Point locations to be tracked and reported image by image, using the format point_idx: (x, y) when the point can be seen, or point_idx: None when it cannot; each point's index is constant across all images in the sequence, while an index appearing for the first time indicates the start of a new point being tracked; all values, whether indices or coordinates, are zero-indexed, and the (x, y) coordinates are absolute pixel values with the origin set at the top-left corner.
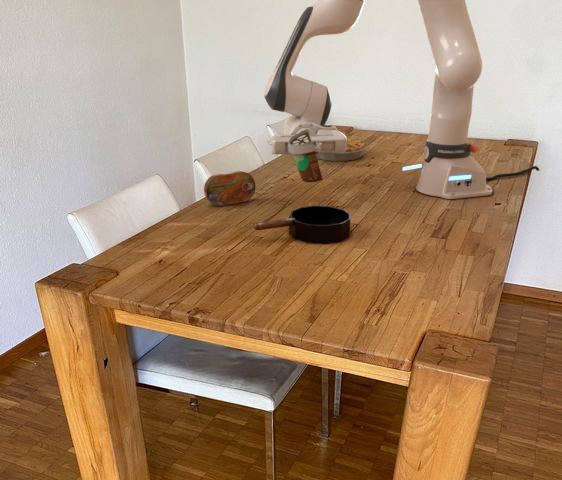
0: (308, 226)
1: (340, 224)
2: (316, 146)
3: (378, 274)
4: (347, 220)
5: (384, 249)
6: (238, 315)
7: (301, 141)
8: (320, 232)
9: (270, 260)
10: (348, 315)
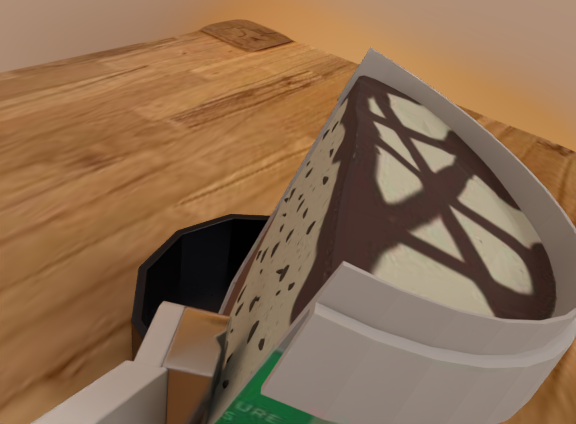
0: None
1: (233, 215)
2: (194, 331)
3: (227, 131)
4: (193, 226)
5: (129, 193)
6: (493, 128)
7: (437, 190)
8: None
9: None
10: (336, 88)
